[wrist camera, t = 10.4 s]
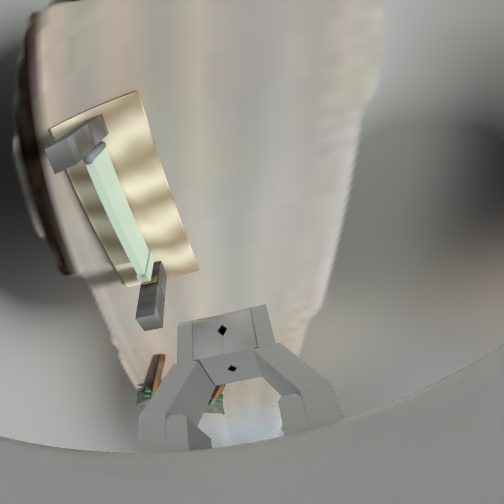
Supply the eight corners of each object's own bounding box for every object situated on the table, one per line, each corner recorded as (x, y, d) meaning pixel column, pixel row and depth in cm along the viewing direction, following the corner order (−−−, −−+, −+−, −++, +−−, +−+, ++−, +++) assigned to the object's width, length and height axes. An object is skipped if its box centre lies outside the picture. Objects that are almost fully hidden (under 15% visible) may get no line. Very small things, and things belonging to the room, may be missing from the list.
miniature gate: (250, 374, 71) (218, 423, 85) (247, 358, 75) (216, 408, 89) (142, 362, 62) (135, 414, 76) (144, 344, 67) (135, 400, 80)
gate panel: (94, 143, 35) (80, 156, 30) (105, 139, 35) (92, 151, 30) (144, 260, 48) (140, 283, 43) (154, 258, 48) (150, 280, 43)
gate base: (53, 127, 33) (6, 158, 22) (138, 90, 33) (110, 105, 22) (127, 283, 52) (116, 340, 42) (198, 266, 52) (200, 324, 42)
